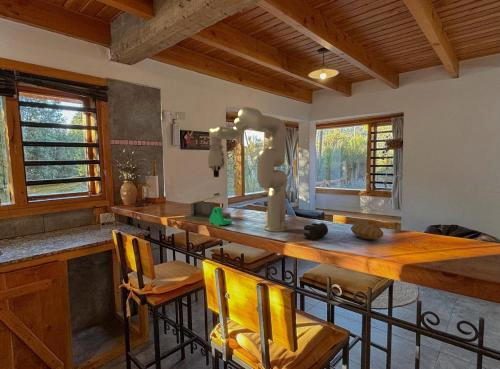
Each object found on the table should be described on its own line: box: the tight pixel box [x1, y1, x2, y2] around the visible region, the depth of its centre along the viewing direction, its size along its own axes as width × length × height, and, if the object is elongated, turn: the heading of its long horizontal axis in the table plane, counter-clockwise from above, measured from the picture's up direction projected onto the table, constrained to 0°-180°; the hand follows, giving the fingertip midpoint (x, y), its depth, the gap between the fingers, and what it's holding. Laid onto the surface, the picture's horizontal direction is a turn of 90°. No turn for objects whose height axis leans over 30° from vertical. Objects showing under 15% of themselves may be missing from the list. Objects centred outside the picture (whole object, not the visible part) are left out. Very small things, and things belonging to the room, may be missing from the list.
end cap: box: [303, 222, 329, 242], centre depth 130 cm, size 10×7×7 cm
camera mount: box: [208, 206, 233, 226], centre depth 163 cm, size 12×8×10 cm, turn 48°
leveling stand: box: [184, 200, 231, 222], centre depth 183 cm, size 22×20×10 cm
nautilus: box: [350, 220, 384, 241], centre depth 131 cm, size 8×22×15 cm
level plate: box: [190, 192, 225, 204], centre depth 182 cm, size 17×14×2 cm
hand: (216, 177), depth 179 cm, fingers closed
